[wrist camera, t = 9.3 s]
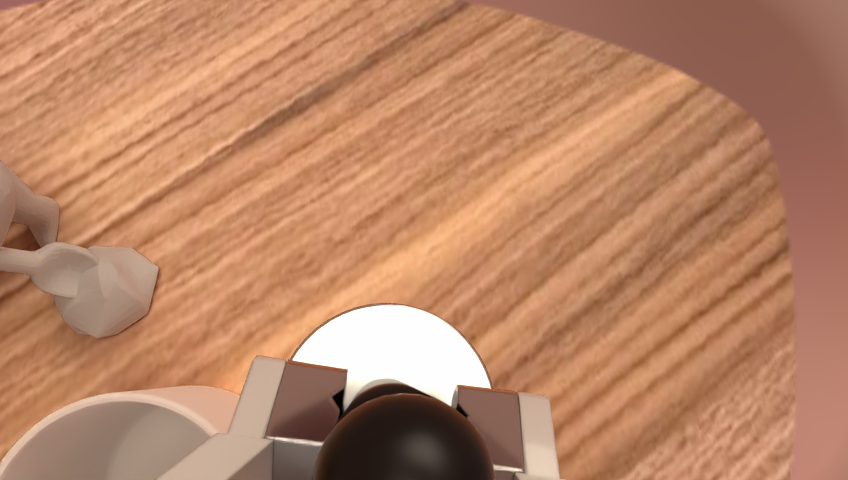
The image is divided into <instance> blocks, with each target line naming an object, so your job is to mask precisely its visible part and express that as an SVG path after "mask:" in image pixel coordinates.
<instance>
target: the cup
mask: <svg viewBox="0 0 848 480" xmlns="http://www.w3.org/2000/svg"><path fill="white" fill-rule="evenodd" d="M239 398H240V396H239V395H237V394H235V393H233V392H230V391H227V390H224V389H220V388H216V387H210V386H197V385H193V386H178V387H167V388H157V389H147V390H137V391H126V392H116V393H108V394H101V395H96V396H92V397H88V398H85V399H82V400H79V401H76V402H73V403H71V404H69V405H67V406H65V407H62V408H60V409H58V410H57V411H55V412H53V413H51V414H50V415H48V416H46V417H45V418H44V419H42V420H41V421H39V422H38V423H37V424H35V425H34V426H33V427H32V428H31V429H29V430H28V431H27V432H26V433H25V434H24V435H23V436H22V437H21V438H20V439H19V440H18V441H17V442H16V443H15V444H14V445H13V446H12V448H11V449H10V450H9V451H8V452H7V454H6V455H5V456H4V458H3V459H2V461H1V462H0V480H155V479H157V478H158V477H159V476H161V475H162V474H163V473H165V472H166V471H167V470H168V469H170V468H171V467H172V466H174V465H175V464H176V463H178V462H179V461H180V460H182V459H183V458H184V457H186V456H187V455H188V454H190V453H191V452H192V451H194V450H195V449H196V448H198V447H199V446H200V445H202V444H203V443H204V442H206V441H207V440H208V439H210V438H211V437H212V436H214V435H215V434H216V433H225V434H227V432H228V429H229V426H230V423H231V420H232V418H233V415H234V412H235V409H236V406H237V403H238V401H239Z"/></svg>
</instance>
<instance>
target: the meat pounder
mask: <svg viewBox="0 0 848 480" xmlns="http://www.w3.org/2000/svg"><path fill="white" fill-rule="evenodd" d="M290 360H294V361H300V362H306V363H312V364H319V365H325V366H331V367H337V368H343V369H348V380H347V388H346V394H345V399H344V405H345V406H344V413H343V414H342V416H341V417H340V419H339V420H338V422H337V423H336V424H335V426H334V427H333V429H332V430H331V432H330V433H329V435H328V436H327V438H326V440H325V441H324V443H323V445H322V447H321V449H320V451H319V454H318V456H317V460H316V463H315V466H314V471H313V477H312V480H496V479H495V472H494V466H493V463H492V460H491V457H490V454H489V452H488V449H487V447H486V445H485V443H484V441H483V439H482V437H481V436H480V434H479V433H478V431H477V430H476V429H475V427H474V426H473V425H472V424H471V423H470V421H469V420H468V419H467V418H466V417H465V416H463V415H462V414H461V413H460V412H459V411H457V410H456V409H455V408H453V407H452V406H451V400H452V396H453V392H454V388H455V386H456V384H461V385H469V386H477V387H485V388H493V387H492V382H491V379H490V377H489V374H488V372H487V369H486V367H485V365H484V363H483V361H482V359H481V357H480V356H479V354H478V353H477V351H476V350H475V348H474V347H473V346H472V344H471V343H470V342H469V341H468V340H467V339H466V338H465V336H464V335H463V334H462V333H461V332H460V331H458V330H457V329H456V328H455V327H453V326H452V325H451V324H450V323H448V322H447V321H445V320H443V319H442V318H440V317H439V316H437V315H435V314H432V313H430V312H428V311H426V310H423V309H420V308H416V307H413V306H409V305H403V304H395V303H379V304H369V305H364V306H360V307H356V308H353V309H350V310H347V311H345V312H342V313H340V314H338V315H336V316H334V317H332V318H330V319H329V320H327V321H326V322H324V323H323V324H321V325H320V326H319V327H317V328H316V329H315V330H314V331H313V332H312V333H311V334H309V335H308V336H307V337H306V338H305V339H304V341H303V342H302V343H301V344H300V345H299V347H298V348H297V349H296V350H295V352H294V354H293V355H292V357H291V358H290Z"/></svg>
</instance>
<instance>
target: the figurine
mask: <svg viewBox="0 0 848 480" xmlns="http://www.w3.org/2000/svg"><path fill="white" fill-rule="evenodd" d="M59 215H60V212H59V206H58V204H57V203H56V202H55V200H53V199H51V198H50V197H46V196H41V195H36V194H35V193H33V192H32V191H31V190H30V189H29V187H28V186H27V185H26V184H25V183H24V182H23V181H22V180H21V179H20V178H19V177H18V176H17V175H16V174H15V173H14V172H13V171H12V170H11V169H10V168H9V167H8V166H7V165H6V164H5V163H4V162H3V161H2V160H0V246H1V245H2V243H3V242H4V240H5V238H6V236H7V234H8V231H9V227H10V224H11V222H14V223H18V224H23V225H28V227H29V229H30V230H31V232H32V234H33V236H34V237H35V239H36V241H37V243H38V244H39V246H41V247H42V248H40V249H38V250H36V251H26V250H19V249H13V248H6V247H0V271H4V272H11V273H19V274H26V275H29V276H30V277H31V279H32V281H33V283H34V285H35V286H36V287H37V288H38V289H39V290H41V291H43V292H45V293H49V294H53V295H55V304H56V306H57V308H58V309H59V310H60V312H61V316H62V319H63V320H64V321H65V322H66V323H67V324H68V325H69V326H70V327H71V328H72V329H73V330H74V331H75V332H76V333H77V334H84V335H91V336H93V337H95V338H101V337H107V336H113V335H116V334H118V333H120V332H121V331H123V330H124V329H126V328H127V327H129V326H130V325H132V324H133V323H135V322H136V321H138V320H139V319H141V318H142V317H144V316H145V315H146V314H147V313H148V311H149V307H150V303H151V299H152V295H153V291H154V287H155V283H156V279H157V275H158V267H157V266H156V265H154V264H153V263H152V262H150V261H149V260H148V259H146V258H145V257H143V256H142V255H141V254H139V253H138V252H137V251H135V250H134V249H132V248H129V247H109V246H91V247H89V248H87V249H85V248H83V247H79V246H76V245H72V244H69V243H63V242H56V239H57V232H58V226H59Z"/></svg>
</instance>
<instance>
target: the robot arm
mask: <svg viewBox="0 0 848 480" xmlns="http://www.w3.org/2000/svg"><path fill="white" fill-rule="evenodd" d="M347 380H348V369H343V368H337V367H331V366H325V365H319V364H312V363H306V362H300V361H294V360H284V359H278V358H272V357H266V356H260V355H257V356H256V357H255V359H254V360H253V361H252V364H251V366H250V369H249V372H248V375H247V378H246V381H245V383H244V386H243V389H242V392H241V395H240V398H239V401H238V403H237V406H236V409H235V412H234V415H233V418H232V420H231V423H230V426H229V429H228V432H227V434H225V433H216V434H215V435H214V436H212V437H211V438H210V439H208V440H207V441H206V442H204V443H203V444H202V445H200V446H199V447H198V448H196V449H195V450H194V451H192V452H191V453H190V454H188V455H187V456H186V457H184V458H183V459H182V460H180V461H179V462H178V463H176V464H175V465H174V466H172V467H171V468H170V469H168V470H167V471H166V472H165V473H163V474H162V475H161V476H159V477H158V478H157V479H155V480H312V477H313V471H314V466H315V463H316V460H317V456H318V454H319V451H320V449H321V447H322V445H323V443H324V441H325V440H326V438H327V436H328V435H329V433H330V432H331V430H332V429H333V427H334V426H335V424H336V423H337V422H338V420H339V419H340V417H341V416H342V414H343V413H344V406H345V405H344V399H345V394H346V388H347ZM451 406H452V407H453V408H455V409H456V410H457V411H459V412H460V413H461V414H462V415H463V416H465V417H466V418H467V419H468V420H469V421H470V423H471V424H472V425H473V426H474V427H475V429H476V430H477V431H478V433H479V434H480V436H481V437H482V439H483V441H484V443H485V445H486V447H487V449H488V452H489V454H490V457H491V460H492V463H493V466H494V472H495V479H496V480H567V479H561V478H560V472H559V464H558V457H557V450H556V442H555V435H554V427H553V420H552V413H551V405H550V400H549V398H548V397H547V395H539V394H531V393H523V392H515V391H508V390H500V389H493V388H485V387H477V386H469V385H461V384H456V386H455V388H454V392H453V396H452V400H451Z"/></svg>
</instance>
